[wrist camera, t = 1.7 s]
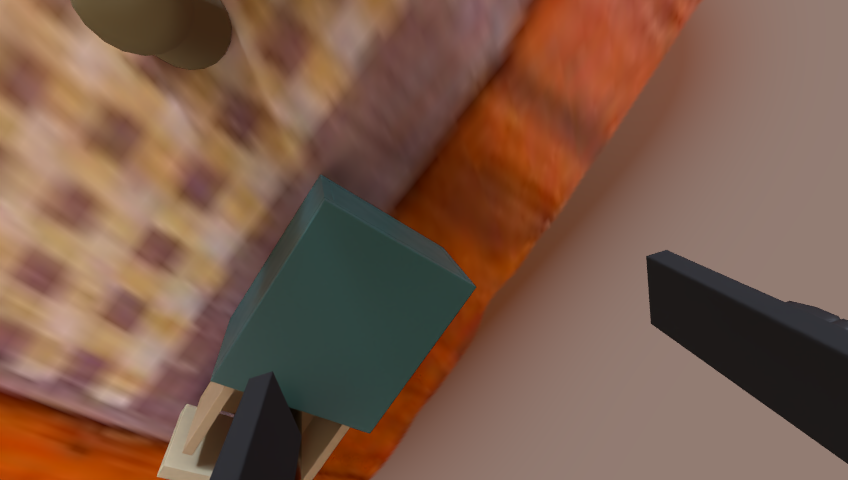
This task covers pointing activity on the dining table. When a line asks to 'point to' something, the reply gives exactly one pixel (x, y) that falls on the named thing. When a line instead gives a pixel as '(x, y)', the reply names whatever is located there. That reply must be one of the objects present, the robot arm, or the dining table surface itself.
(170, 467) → the drawer
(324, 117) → the dining table surface
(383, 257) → the cabinet
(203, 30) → the olive peanut shape
